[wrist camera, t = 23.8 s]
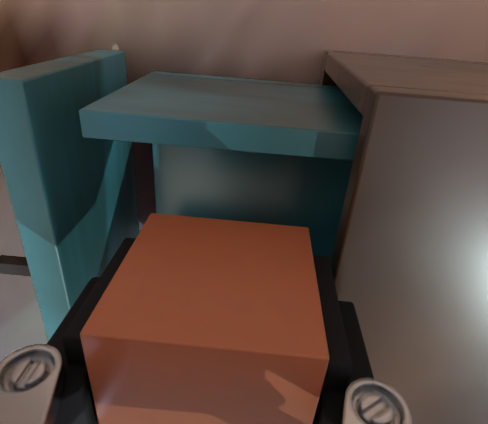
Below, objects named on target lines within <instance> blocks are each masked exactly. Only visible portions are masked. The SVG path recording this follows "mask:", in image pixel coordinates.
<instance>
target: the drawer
mask: <svg viewBox="0 0 488 424" xmlns="http://www.w3.org/2000/svg"><path fill="white" fill-rule="evenodd" d="M362 119H363V116H362V114H361V113H360V112H359V111H358V110H357V108H356V107H355V106H354V105H353V104H352V103H351V101H350V100H349V99H348V98H347V97H346V95H345V94H344V93H343V92H342V91H341V89H340V88H339V87H338V86H331V85H319V84H306V83H294V82H282V81H270V80H257V79H245V78H233V77H221V76H208V75H196V74H184V73H171V72H159V71H153V72H151V73H149V74H147V75H145V76H143V77H141V78H139V79H137V80H136V81H134V82H132V83H130V84H128V85H127V76H126V64H125V53H124V51H119V50H106V49H97V50H93V51H89V52H85V53H80V54H76V55H72V56H67V57H63V58H59V59H54V60H50V61H46V62H41V63H37V64H33V65H28V66H24V67H20V68H15V69H11V70H7V71H3V72H0V162H1V166H2V170H3V173H4V177H5V181H6V185H7V188H8V192H9V196H10V200H11V203H12V207H13V211H14V215H15V218H16V222H17V226H18V230H19V233H20V237H21V241H22V245H23V248H24V252H25V256H26V257H17V256H6V255H1V256H0V273H2V274H12V275H22V276H31V278H32V282H33V286H34V290H35V293H36V297H37V301H38V304H39V308H40V312H41V316H42V319H43V323H44V327H45V331H46V334H47V338H48V341H49V340H50V338H51V337H52V335H53V334H54V332H55V331H56V330H57V328H58V327H59V325H60V324H61V322H62V321H63V319H64V318H65V316H66V315H67V313H68V312H69V310H70V309H71V307H72V306H73V304H74V303H75V301H76V300H77V298H78V297H79V295H80V294H81V292H82V291H83V289H84V288H85V286H86V285H87V283H88V282H89V281H90V279H91V278H93V277H100V276H101V275H102V273H103V272H104V270H105V268H106V267H107V265H108V264H109V262H110V261H111V259H112V257H113V256H114V254H115V253H116V251H117V250H118V248H119V247H120V245H121V243H122V242H123V240H124V239H125V238H137V236H138V234H139V222H138V210H137V198H136V185H135V173H134V161H133V149H132V142H141V143H152V153H153V171H154V189H155V207H156V213H158V214H168V215H179V216H190V217H201V218H212V219H223V220H234V221H244V222H255V223H266V224H277V225H288V226H299V227H307V228H308V229H309V234H310V241H311V247H312V253H313V255H318V256H328V257H329V260H330V263H331V259H332V254H333V250H334V245H335V241H336V236H337V232H338V227H339V223H340V218H341V214H342V209H343V205H344V200H345V196H346V191H347V187H348V182H349V178H350V173H351V169H352V164H353V160H354V155H355V151H356V146H357V142H358V137H359V133H360V128H361V124H362Z"/></svg>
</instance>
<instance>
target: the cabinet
mask: <svg viewBox="0 0 488 424" xmlns="http://www.w3.org/2000/svg"><path fill="white" fill-rule="evenodd" d="M320 85H331V86H338V87H339V88H340V89H341V91H342V92H343V93H344V94H345V95H346V97H347V98H348V99H349V100H350V101H351V103H352V104H353V105H354V106H355V107H356V108H357V110H358V111H359V112H360V113H361V114H362V116H363V119H362V124H361V128H360V133H359V137H358V142H357V146H356V151H355V155H354V160H353V164H352V169H351V173H350V178H349V182H348V187H347V191H346V196H345V200H344V205H343V209H342V214H341V218H340V223H339V227H338V232H337V236H336V241H335V245H334V250H333V254H332V259H331V263H330V265H331V269H332V274H333V278H334V283H335V288H336V292H337V297H338V301H348V302H352V303H353V304H354V307H355V310H356V314H357V317H358V321H359V325H360V328H361V332H362V336H363V339H364V343H365V347H366V351H367V354H368V358H369V362H370V365H371V369H372V373H373V376H374V379H379V380H381V381H383V382H386V383H388V384H389V385H391V386H392V387H393V388H395V389H396V390H397V391H398V392H399V393H400V394H401V395H402V396H403V397H404V399H405V400H406V402H407V404H408V406H409V408H410V412H411V416H412V424H488V63H482V62H470V61H457V60H444V59H432V58H419V57H406V56H394V55H381V54H368V53H355V52H343V51H330V50H326V51H325V54H324V60H323V66H322V72H321V79H320Z"/></svg>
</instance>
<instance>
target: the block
mask: <svg viewBox="0 0 488 424" xmlns="http://www.w3.org/2000/svg"><path fill="white" fill-rule="evenodd" d="M80 338H81V342H82V347H83V352H84V357H85V362H86V366H87V371H88V376H89V381H90V386H91V390H92V395H93V400H94V405H95V409H96V414H97V419H98V424H313V420H314V416H315V412H316V409H317V405H318V401H319V397H320V393H321V390H322V386H323V382H324V378H325V374H326V371H327V367H328V363H329V359H330V358H329V352H328V346H327V340H326V333H325V327H324V321H323V315H322V309H321V302H320V296H319V290H318V284H317V278H316V272H315V265H314V259H313V253H312V247H311V241H310V234H309V229H308V228H307V227H299V226H288V225H277V224H266V223H255V222H244V221H234V220H223V219H212V218H201V217H190V216H179V215H168V214H158V213H151V214H150V216H149V217H148V219H147V221H146V222H145V224H144V226H143V227H142V229H141V231H140V232H139V234H138V236H137V238H136V239H135V241H134V243H133V244H132V246H131V248H130V249H129V251H128V253H127V254H126V256H125V258H124V260H123V261H122V263H121V265H120V266H119V268H118V270H117V271H116V273H115V275H114V276H113V278H112V280H111V282H110V283H109V285H108V287H107V288H106V290H105V292H104V293H103V295H102V297H101V298H100V300H99V302H98V304H97V305H96V307H95V309H94V310H93V312H92V314H91V315H90V317H89V319H88V320H87V322H86V324H85V326H84V327H83V329H82V331H81V332H80Z"/></svg>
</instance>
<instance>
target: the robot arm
mask: <svg viewBox="0 0 488 424" xmlns="http://www.w3.org/2000/svg"><path fill="white" fill-rule="evenodd" d="M135 239H136V238H125V239H124V240H123V242H122V243H121V245H120V247H119V248H118V250H117V251H116V253H115V254H114V256H113V257H112V259H111V261H110V262H109V264H108V265H107V267H106V268H105V270H104V272H103V273H102V275H101V276H100V277H93V278H91V279H90V281H89V282H88V283H87V285H86V286H85V288H84V289H83V291H82V292H81V294H80V295H79V297H78V298H77V300H76V301H75V303H74V304H73V306H72V307H71V309H70V310H69V312H68V313H67V315H66V316H65V318H64V319H63V321H62V322H61V324H60V325H59V327H58V328H57V330H56V331H55V332H54V334H53V335H52V337H51V338H50V340H49V341H48V343H47V344H35V345H30V346H26V347H23V348H21V349H18V350H16V351H14V352H13V353H11V354H9V355H8V356H6V357H5V358H4V359H3V360H2V361H1V362H0V424H98V419H97V414H96V409H95V405H94V400H93V395H92V390H91V386H90V381H89V376H88V371H87V366H86V362H85V357H84V352H83V347H82V342H81V338H80V332H81V331H82V329H83V327H84V326H85V324H86V322H87V320H88V319H89V317H90V315H91V314H92V312H93V310H94V309H95V307H96V305H97V304H98V302H99V300H100V298H101V297H102V295H103V293H104V292H105V290H106V288H107V287H108V285H109V283H110V282H111V280H112V278H113V276H114V275H115V273H116V271H117V270H118V268H119V266H120V265H121V263H122V261H123V260H124V258H125V256H126V254H127V253H128V251H129V249H130V248H131V246H132V244H133V243H134V241H135ZM313 259H314V265H315V272H316V278H317V284H318V290H319V296H320V302H321V309H322V315H323V321H324V327H325V333H326V340H327V346H328V352H329V358H330V359H329V363H328V367H327V371H326V374H325V378H324V382H323V386H322V390H321V393H320V397H319V401H318V405H317V409H316V412H315V416H314V420H313V424H412V416H411V412H410V408H409V406H408V404H407V402H406V400H405V399H404V397H403V396H402V395H401V394H400V393H399V392H398V391H397V390H396V389H395V388H393V387H392V386H391V385H389V384H388V383H386V382H383V381H381V380H379V379H374V376H373V373H372V369H371V365H370V362H369V358H368V354H367V351H366V347H365V343H364V339H363V336H362V332H361V328H360V325H359V321H358V317H357V314H356V310H355V307H354V304H353V303H352V302H348V301H338V297H337V292H336V288H335V283H334V278H333V274H332V269H331V265H330V260H329V257H328V256H318V255H313Z"/></svg>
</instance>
